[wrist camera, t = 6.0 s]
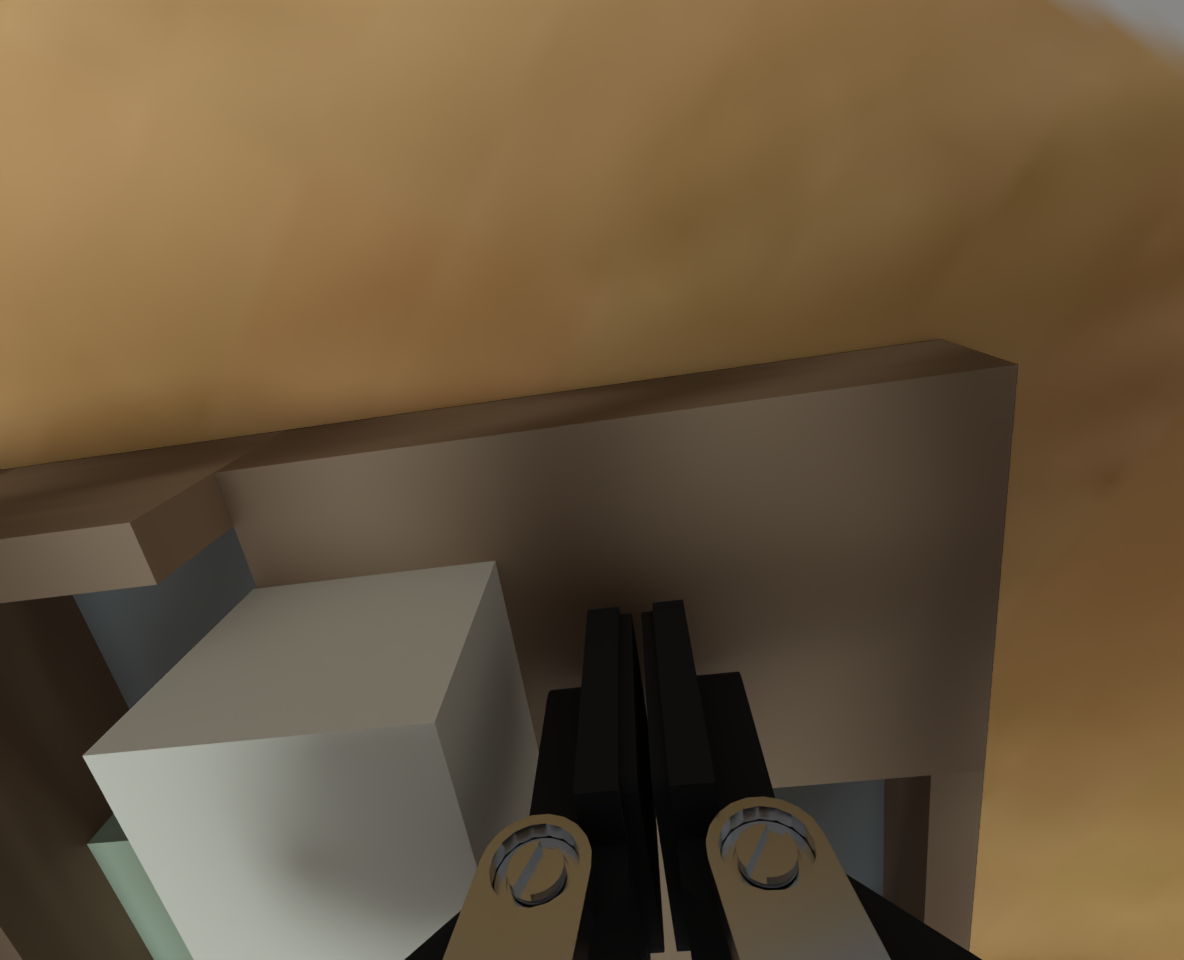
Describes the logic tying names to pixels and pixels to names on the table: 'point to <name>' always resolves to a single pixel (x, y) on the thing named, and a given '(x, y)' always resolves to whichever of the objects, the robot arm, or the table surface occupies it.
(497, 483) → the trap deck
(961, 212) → the table surface
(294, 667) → the block
